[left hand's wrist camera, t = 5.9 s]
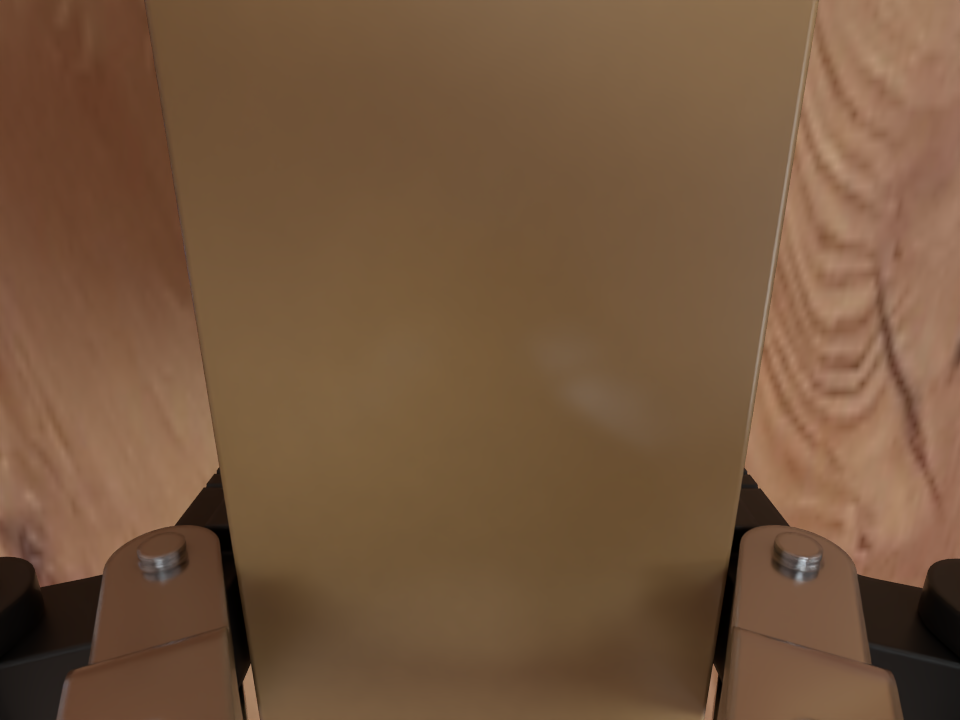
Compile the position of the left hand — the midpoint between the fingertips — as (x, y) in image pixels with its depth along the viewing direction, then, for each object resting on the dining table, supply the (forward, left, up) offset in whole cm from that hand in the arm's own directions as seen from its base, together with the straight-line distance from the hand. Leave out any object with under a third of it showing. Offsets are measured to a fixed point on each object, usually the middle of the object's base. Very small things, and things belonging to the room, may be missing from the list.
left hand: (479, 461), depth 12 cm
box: (+9, +5, -7) cm, 12 cm away
